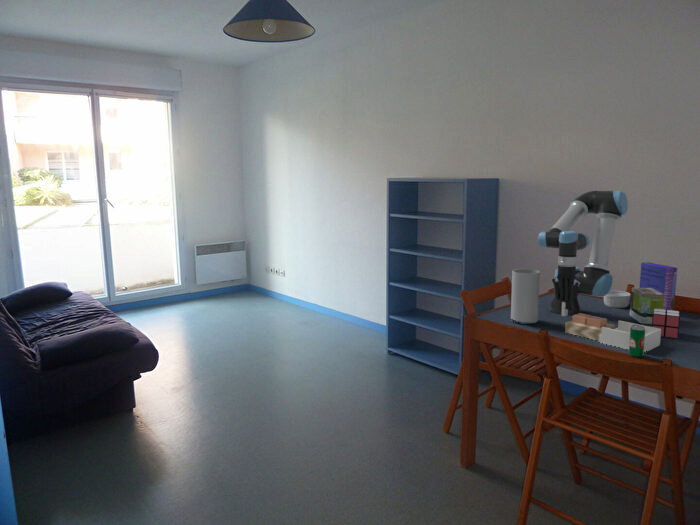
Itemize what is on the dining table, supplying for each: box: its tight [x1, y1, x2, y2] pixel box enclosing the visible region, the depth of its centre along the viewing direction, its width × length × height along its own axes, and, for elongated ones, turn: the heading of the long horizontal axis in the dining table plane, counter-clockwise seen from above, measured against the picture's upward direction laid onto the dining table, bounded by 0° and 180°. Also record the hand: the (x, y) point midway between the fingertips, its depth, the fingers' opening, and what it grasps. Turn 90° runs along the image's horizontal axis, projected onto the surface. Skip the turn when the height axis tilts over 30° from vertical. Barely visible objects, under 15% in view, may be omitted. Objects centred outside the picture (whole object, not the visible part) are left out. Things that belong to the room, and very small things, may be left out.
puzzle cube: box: [651, 309, 681, 339], centre depth 222 cm, size 10×10×10 cm
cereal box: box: [638, 262, 678, 311], centre depth 258 cm, size 17×5×24 cm, turn 14°
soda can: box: [628, 324, 645, 358], centre depth 196 cm, size 5×5×12 cm
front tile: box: [586, 315, 608, 328], centre depth 221 cm, size 6×6×3 cm
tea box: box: [629, 287, 665, 325], centre depth 243 cm, size 15×10×15 cm
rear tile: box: [572, 313, 593, 325], centre depth 226 cm, size 6×6×3 cm
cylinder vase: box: [510, 268, 541, 323], centre depth 245 cm, size 12×12×25 cm
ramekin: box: [603, 290, 631, 309], centre depth 271 cm, size 13×13×7 cm
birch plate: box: [564, 320, 616, 342], centre depth 224 cm, size 16×12×5 cm
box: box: [598, 320, 662, 353], centre depth 210 cm, size 18×16×7 cm
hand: (564, 315), depth 233 cm, fingers closed
